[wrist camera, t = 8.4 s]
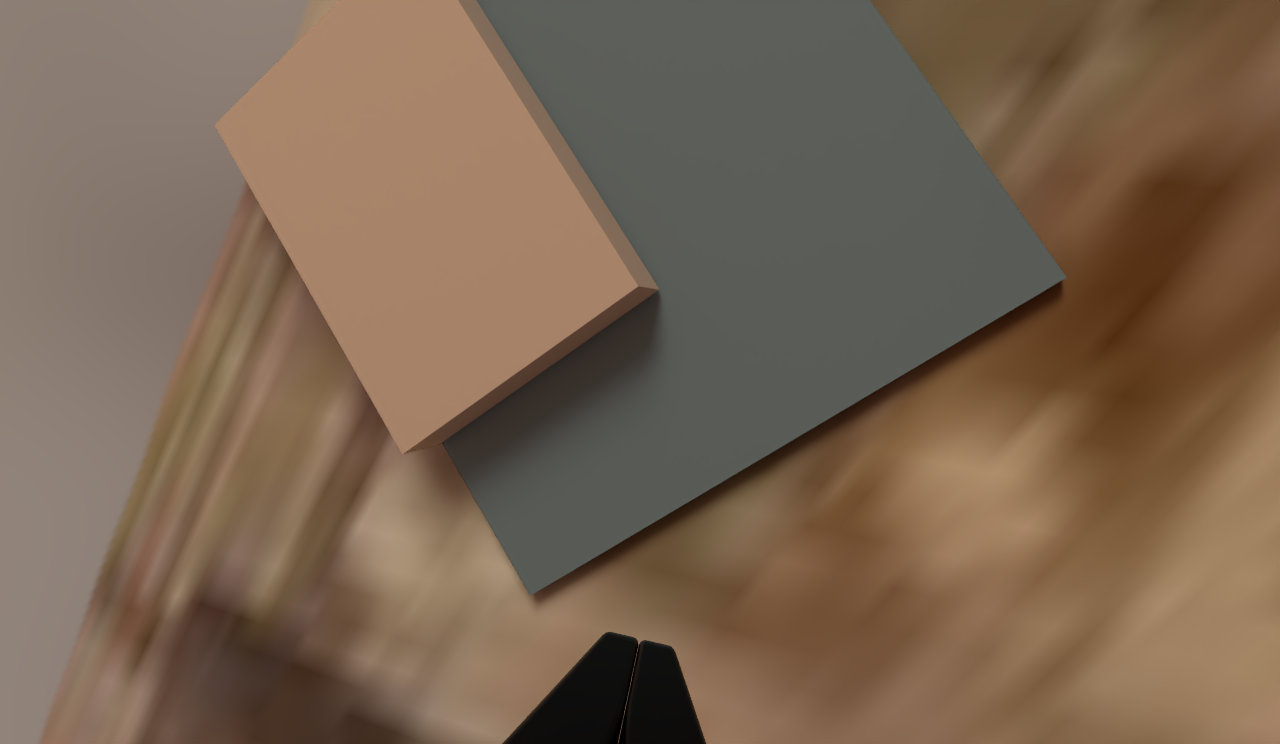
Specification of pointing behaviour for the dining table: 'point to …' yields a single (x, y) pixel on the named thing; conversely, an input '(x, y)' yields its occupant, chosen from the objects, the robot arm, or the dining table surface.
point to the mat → (736, 253)
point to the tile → (431, 209)
